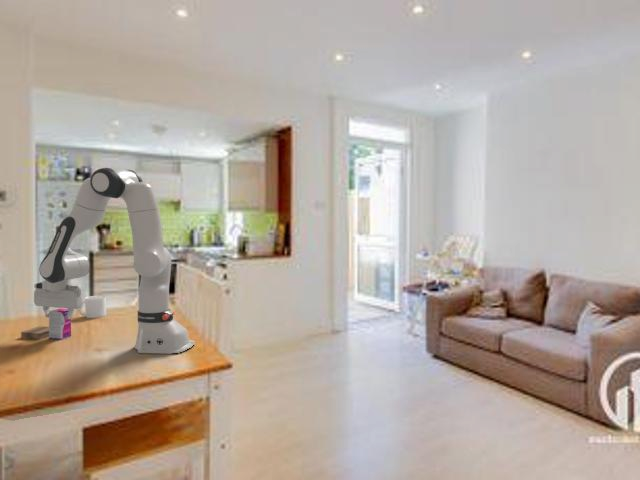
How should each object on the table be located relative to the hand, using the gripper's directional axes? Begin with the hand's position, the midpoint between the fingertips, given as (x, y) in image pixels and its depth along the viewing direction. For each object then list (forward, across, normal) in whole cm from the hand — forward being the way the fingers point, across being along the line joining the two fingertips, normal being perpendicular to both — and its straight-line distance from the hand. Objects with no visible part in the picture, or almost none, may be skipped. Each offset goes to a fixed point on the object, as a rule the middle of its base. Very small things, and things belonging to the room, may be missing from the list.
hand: (58, 317), depth 177 cm
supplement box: (+8, -1, 0) cm, 9 cm away
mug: (+8, +11, -33) cm, 36 cm away
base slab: (+8, +9, 0) cm, 13 cm away
